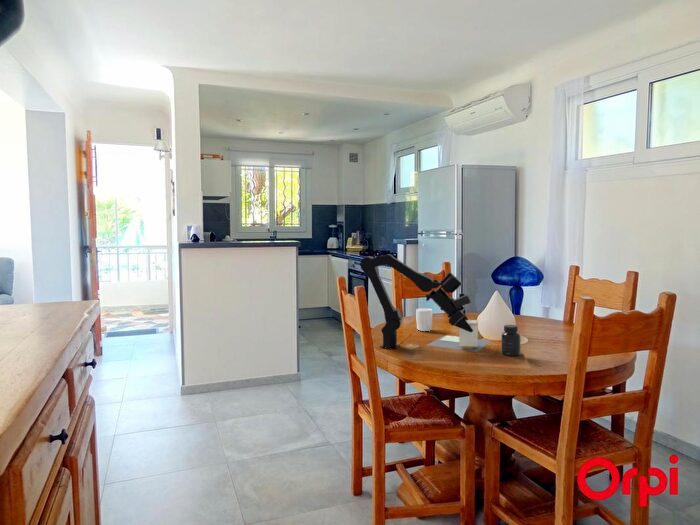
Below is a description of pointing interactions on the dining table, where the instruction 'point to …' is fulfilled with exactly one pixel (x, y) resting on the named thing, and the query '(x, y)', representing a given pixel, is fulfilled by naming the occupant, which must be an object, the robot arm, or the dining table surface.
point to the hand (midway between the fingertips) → (472, 329)
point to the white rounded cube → (469, 335)
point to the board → (457, 343)
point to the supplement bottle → (510, 341)
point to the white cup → (424, 319)
